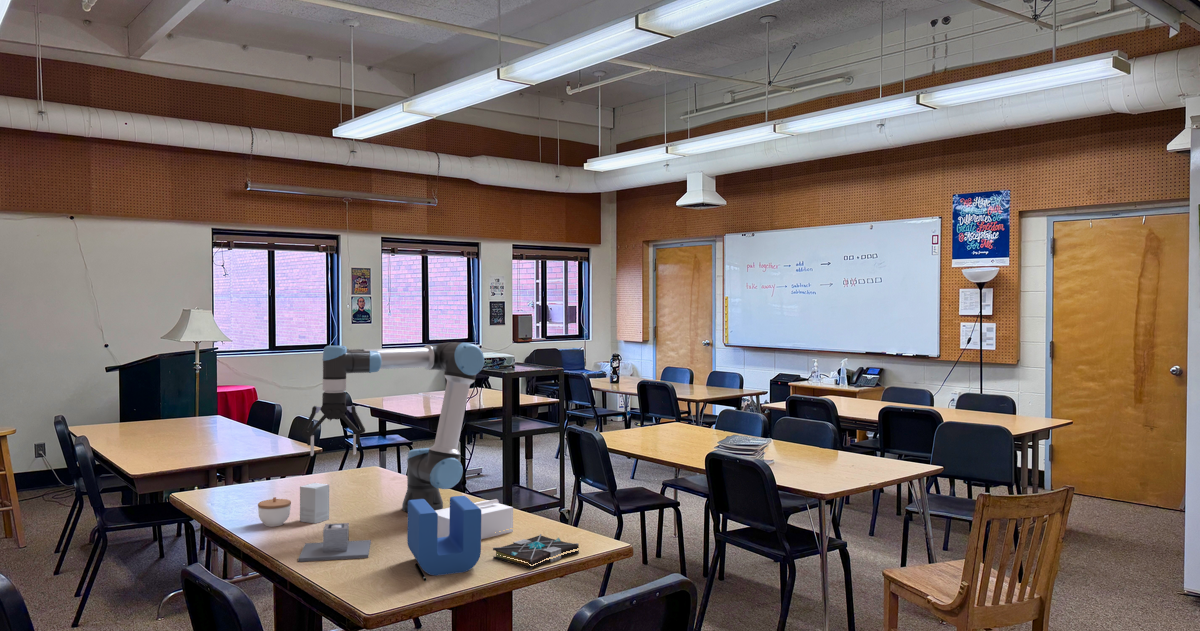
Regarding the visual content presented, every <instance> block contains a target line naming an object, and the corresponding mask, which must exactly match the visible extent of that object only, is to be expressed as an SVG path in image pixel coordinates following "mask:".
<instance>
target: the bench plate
mask: <svg viewBox="0 0 1200 631" xmlns="http://www.w3.org/2000/svg"><path fill="white" fill-rule="evenodd" d="M331 528H341V525H333V526H331ZM371 544H372V541H371V539H364V540H363V539H361V540H349V545H348V549H347V551H345V552H327V553H323V541H322V542H305V543H304V546H303V547H302V550H301V551H300V555H299V557H298V558H297V561H298V563H299V562H301V563H302V562H319V561H321V562H322V561H333V560H334V561H336V560H353V559H368V558H369V555H370V549H371Z"/></svg>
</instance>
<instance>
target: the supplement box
mask: <svg viewBox="0 0 1200 631" xmlns="http://www.w3.org/2000/svg"><path fill="white" fill-rule="evenodd" d="M327 520H330V484H327V483H318V482H312V483H309V484H308V483H307V484H304V485H301V486H300V487H299V521H300V522H302V523H303V522H304V523H309V524H317V523H321V522H324V521H327Z"/></svg>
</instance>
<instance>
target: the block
mask: <svg viewBox="0 0 1200 631" xmlns="http://www.w3.org/2000/svg"><path fill="white" fill-rule="evenodd" d="M474 503H475V502H473V501H472V500H471V499H470V498H469V497H468V496H466V495H456V496H453V495H452V496H450V498H449V508H450V525H449V536H447V537H440V538H437V536H438V514H437V513H436V512H435V510H434V509H433V508H432V507H431V506H430V505H429V504H428V503H427V502H426V500H425V499H416V500H409V501H408V512H407V533H406V534H407V535H406V536H407V537H406V538H407V539H406V540H407V547H408V549H409V551H410V552H411V554H412V555H413V557H414V558H415V560H416V562H417V563H418V565H419V566H420V568H421V569H422V570H423V571H424V572H425V573H426V574H428V575H430V576H445V575H451V574H452V575H454V574H459V573H465V572H468V571H470V570H471V569H473V568H474V567H475V566H476V564H477V563H478V562H479V560H480V558H481V554H482V553H481V552H482V539H481V509H480V508H479V507H477V506H476V505H475V504H474Z"/></svg>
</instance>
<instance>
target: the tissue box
mask: <svg viewBox="0 0 1200 631" xmlns="http://www.w3.org/2000/svg"><path fill="white" fill-rule="evenodd" d="M499 501H500V500H499V499H497V498H495V499H491V500H488V499H486V500H481V501H477V502H473V503H474V504H475V505H476V506H477V507H479V508H480V509H481V540H484V539H488V538H492V537H497V536H500V535H505V534H509V533H512V532H513V533H514V507H513V506H509V505H507V504H503V503H500V502H499ZM435 512H436V513H437V514H438V536H437V538H440V537H447V536H449V525H450V507H446V508H443V509H440V510H435ZM510 528H513V529H510ZM506 529H509V530H506ZM503 530H505V531H503ZM499 531H501V532H499ZM495 532H496V533H495Z"/></svg>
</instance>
